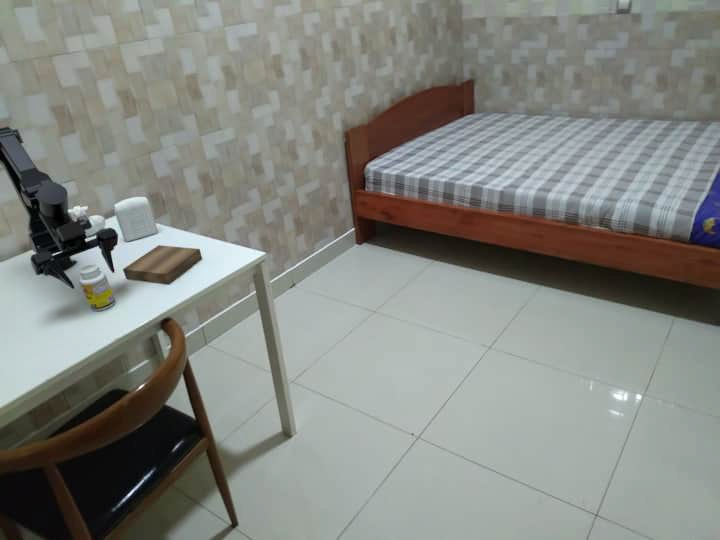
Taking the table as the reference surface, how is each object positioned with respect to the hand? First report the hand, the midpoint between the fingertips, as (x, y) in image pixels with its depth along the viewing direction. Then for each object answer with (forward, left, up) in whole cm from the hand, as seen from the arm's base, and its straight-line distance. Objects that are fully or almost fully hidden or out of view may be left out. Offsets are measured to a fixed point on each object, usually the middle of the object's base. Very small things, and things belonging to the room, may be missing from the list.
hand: (94, 280), depth 119 cm
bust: (-41, +34, -8) cm, 54 cm away
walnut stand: (+2, +19, -7) cm, 21 cm away
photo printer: (-21, +36, -8) cm, 42 cm away
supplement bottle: (-1, 0, -8) cm, 8 cm away
